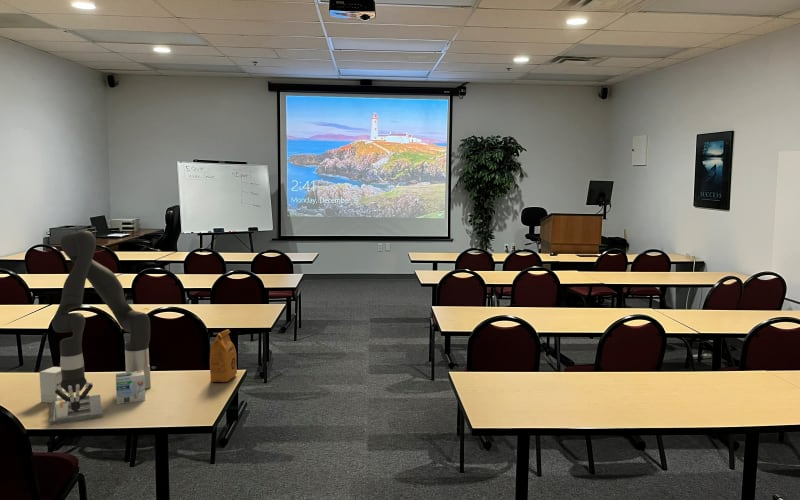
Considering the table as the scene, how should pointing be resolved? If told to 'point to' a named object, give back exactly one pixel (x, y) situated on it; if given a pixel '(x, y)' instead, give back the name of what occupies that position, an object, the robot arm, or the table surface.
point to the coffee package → (222, 358)
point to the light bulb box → (130, 387)
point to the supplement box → (50, 384)
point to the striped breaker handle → (61, 409)
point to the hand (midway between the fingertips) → (75, 410)
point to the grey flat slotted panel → (79, 411)
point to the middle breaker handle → (61, 399)
